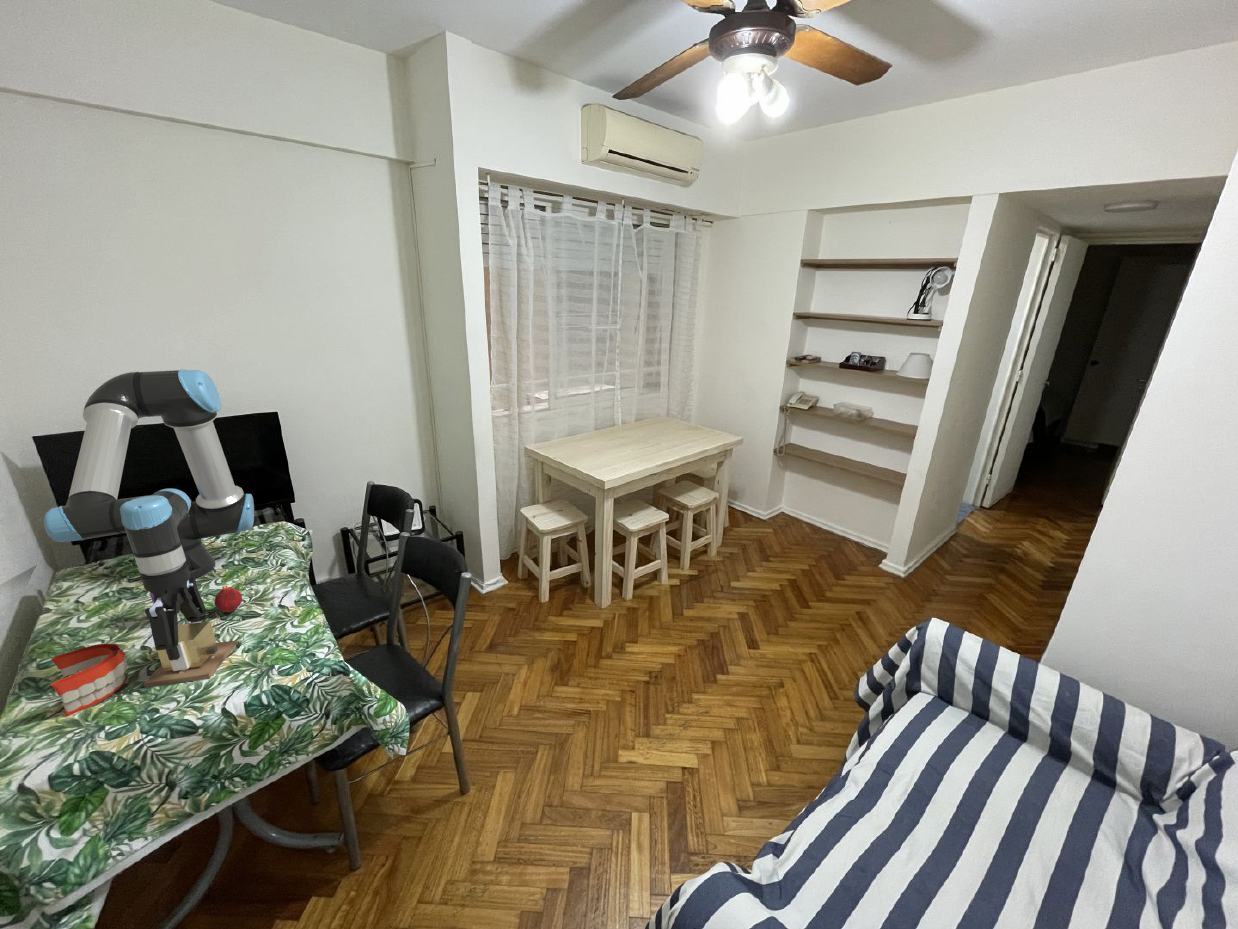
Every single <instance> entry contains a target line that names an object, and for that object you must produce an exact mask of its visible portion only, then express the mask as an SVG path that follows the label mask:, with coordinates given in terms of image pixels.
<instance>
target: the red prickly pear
mask: <svg viewBox="0 0 1238 929" xmlns="http://www.w3.org/2000/svg"><path fill="white" fill-rule="evenodd" d="M242 602H243V595H242V593H241V591H239V590H238V589H236V588H235V587H228V585H227V584H225V585H223V586H222V589H221V590H220V591H219V592H218V593H217V594H216V595H215V597H214V606H215V608H216V609H217V610H219V612H220V611H221V612H223V613H234V612H235V611H236V610H237V609H238V608H239V607H240V606H241V605H242Z"/></svg>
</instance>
